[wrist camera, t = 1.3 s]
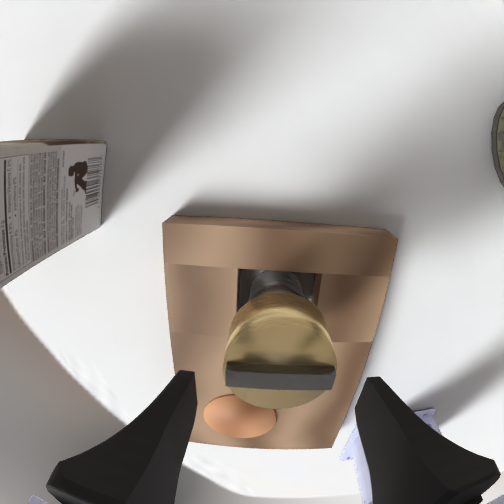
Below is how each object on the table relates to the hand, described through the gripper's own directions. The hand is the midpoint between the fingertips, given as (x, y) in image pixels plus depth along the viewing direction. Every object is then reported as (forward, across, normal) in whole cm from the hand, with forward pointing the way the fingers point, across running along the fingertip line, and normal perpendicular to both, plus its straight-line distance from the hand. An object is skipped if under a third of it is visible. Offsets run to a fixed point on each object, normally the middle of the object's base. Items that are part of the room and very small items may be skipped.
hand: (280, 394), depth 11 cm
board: (+9, 0, +6) cm, 11 cm away
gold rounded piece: (+9, 0, 0) cm, 9 cm away
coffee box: (+10, +16, -7) cm, 20 cm away
